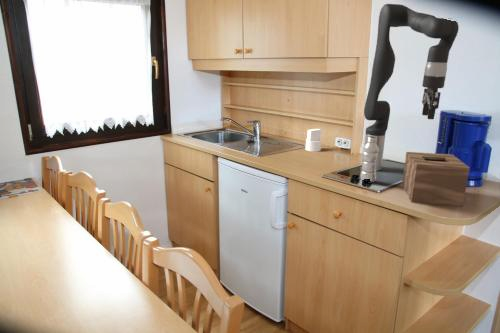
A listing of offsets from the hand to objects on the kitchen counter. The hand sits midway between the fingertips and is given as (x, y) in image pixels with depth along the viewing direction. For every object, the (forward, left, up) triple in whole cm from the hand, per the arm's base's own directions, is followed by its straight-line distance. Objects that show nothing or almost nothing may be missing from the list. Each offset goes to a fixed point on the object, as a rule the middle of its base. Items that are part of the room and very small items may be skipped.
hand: (427, 117), depth 149 cm
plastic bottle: (-8, -19, -31) cm, 37 cm away
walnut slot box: (+4, +4, -31) cm, 31 cm away
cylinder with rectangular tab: (-64, -45, -31) cm, 84 cm away
